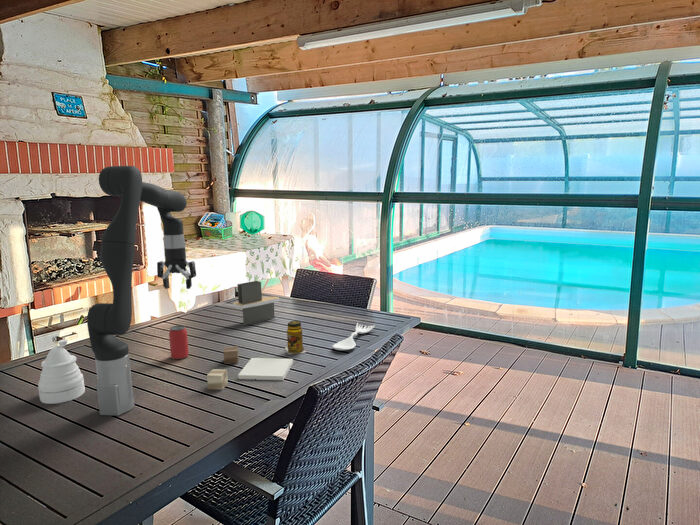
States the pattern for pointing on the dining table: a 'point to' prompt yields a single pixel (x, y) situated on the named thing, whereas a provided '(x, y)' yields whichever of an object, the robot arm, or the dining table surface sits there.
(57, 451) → the dining table surface
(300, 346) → the condiment
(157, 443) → the dining table surface
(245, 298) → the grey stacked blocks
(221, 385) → the birch cube
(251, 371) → the stone board
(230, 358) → the walnut cube
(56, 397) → the honey pot
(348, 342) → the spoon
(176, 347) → the beer can
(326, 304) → the dining table surface
